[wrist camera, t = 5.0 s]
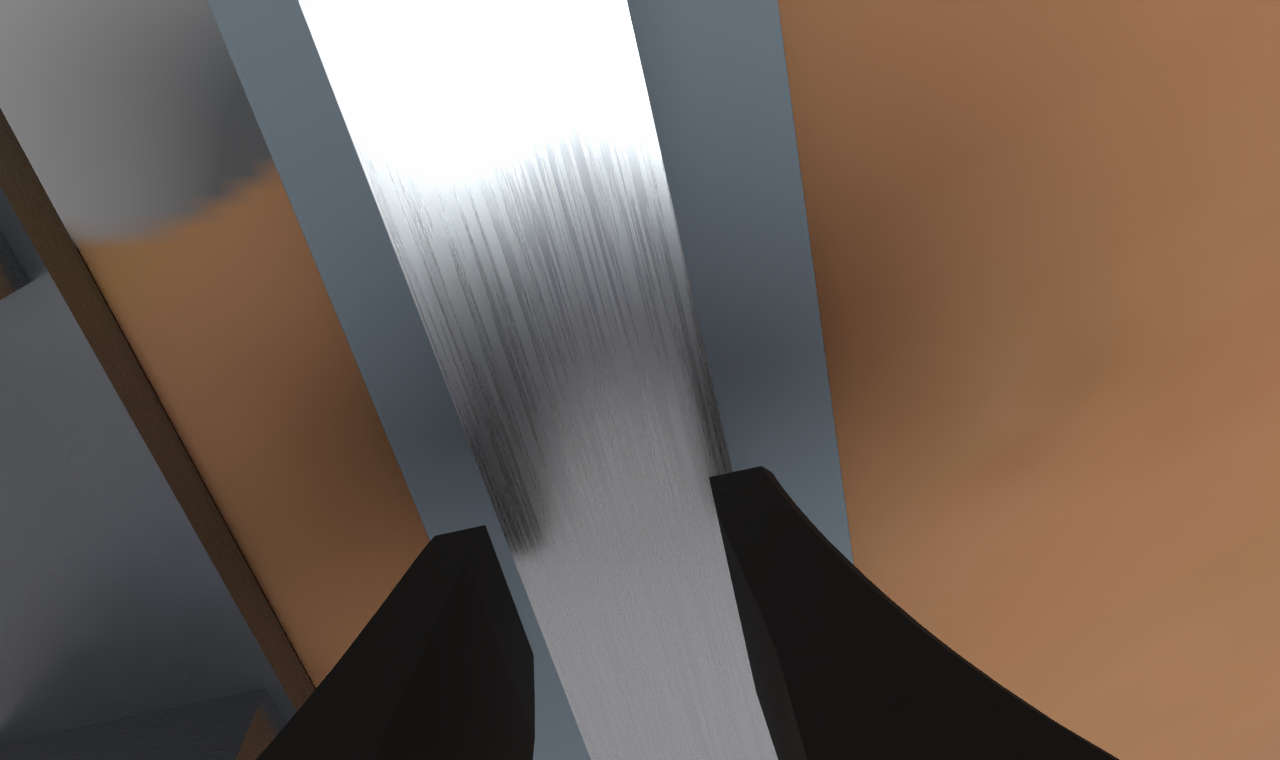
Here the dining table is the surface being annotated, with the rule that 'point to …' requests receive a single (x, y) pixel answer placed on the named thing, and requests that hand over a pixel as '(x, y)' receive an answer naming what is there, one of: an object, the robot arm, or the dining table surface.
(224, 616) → the rack
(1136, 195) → the dining table surface
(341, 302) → the mat
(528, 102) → the rail
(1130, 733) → the dining table surface
